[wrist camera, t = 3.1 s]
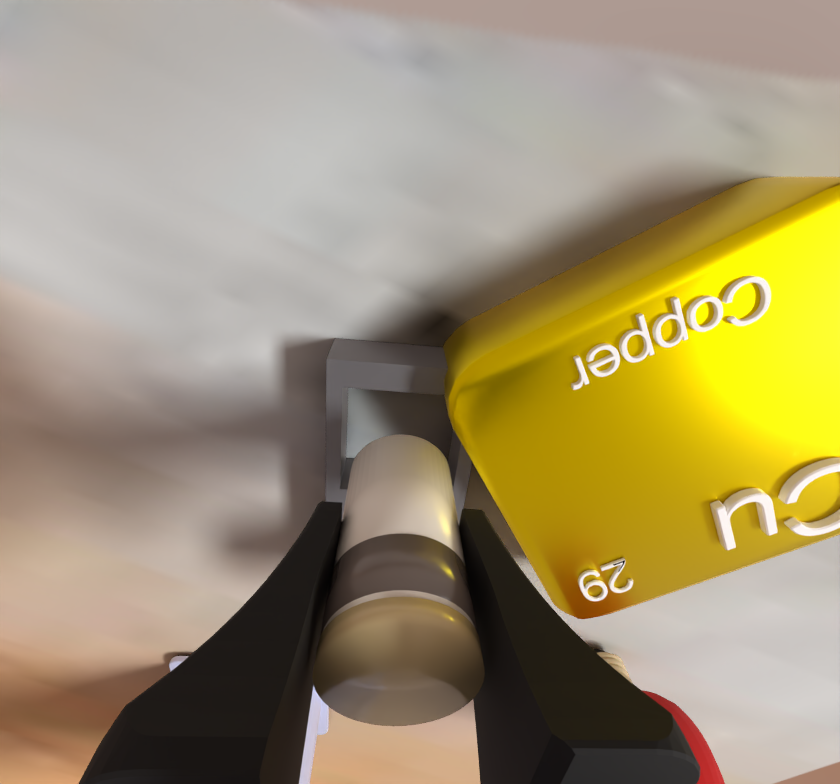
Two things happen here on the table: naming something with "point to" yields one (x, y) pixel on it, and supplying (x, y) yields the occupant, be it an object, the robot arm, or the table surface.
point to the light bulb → (709, 770)
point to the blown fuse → (399, 594)
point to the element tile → (665, 399)
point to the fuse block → (385, 372)
